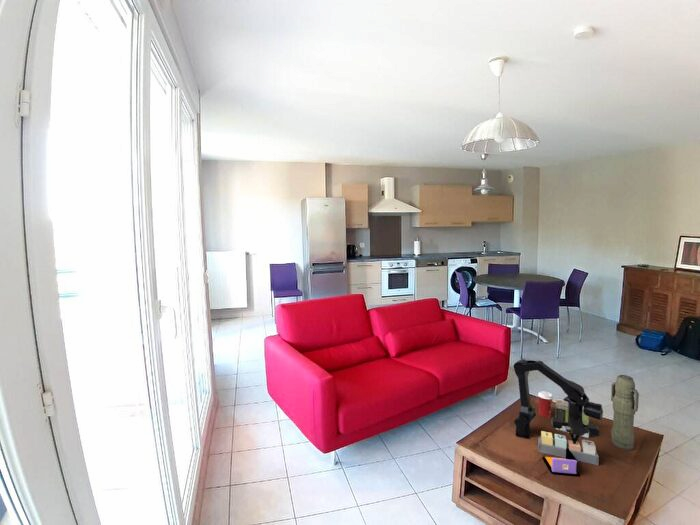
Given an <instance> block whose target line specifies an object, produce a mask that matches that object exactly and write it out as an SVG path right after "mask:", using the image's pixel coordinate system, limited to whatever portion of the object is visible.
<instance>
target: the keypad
mask: <svg viewBox="0 0 700 525" xmlns="http://www.w3.org/2000/svg"><path fill="white" fill-rule="evenodd" d="M537 439H538V444H537V445H538V452H540V453H544V454H546V455H552V456H556V457H559V458H565V459H566V449H565V448H560V447H555V444H554V439H553V445H552V446H551V445H546V444H542V443H541V436H540V435H539V436H538V438H537ZM580 447H581V452H578V451H574V450H570V451H571V453H572V454H573V455H574V457H575V458H576V459H577V461H578V462H582V463H587V464H592V465H595V466H599V461H600V460H599V458H600V456H599V454H598V452H597V449H596V450H595V455H592V454H588V453H583V451H582V444H580ZM566 448H568V441H567V444H566Z"/></svg>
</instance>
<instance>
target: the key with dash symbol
mask: <svg viewBox="0 0 700 525" xmlns="http://www.w3.org/2000/svg"><path fill="white" fill-rule="evenodd" d="M567 442H568V449H569V450H574V451H578V452H581V447H580V445H581V444H580V441H577V442H576V443H575V444H573V441H572V439H568V440H567Z"/></svg>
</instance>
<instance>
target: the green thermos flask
mask: <svg viewBox="0 0 700 525" xmlns="http://www.w3.org/2000/svg"><path fill="white" fill-rule="evenodd" d="M610 396H611V397H610V398H611V399H610V401H612V409H613V420H612V421H613V422H612V428H611V434H610V437H611V444H612V445H613V446H615V447H617V448H619V449H622V450H626V451H627V450H628V451H631V450H633V449H634V444H635V434H634V433H635V432H634V421H635V420H634V419H635V415H636V412H638V410H639V409H638V408H639V396H640V394H639V391H638V390H637V389H636V383H635V380H634V378H633V377H632V376H629V375H626V374H620V375H617V377H616V379H615V382H612V383H611V395H610Z"/></svg>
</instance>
